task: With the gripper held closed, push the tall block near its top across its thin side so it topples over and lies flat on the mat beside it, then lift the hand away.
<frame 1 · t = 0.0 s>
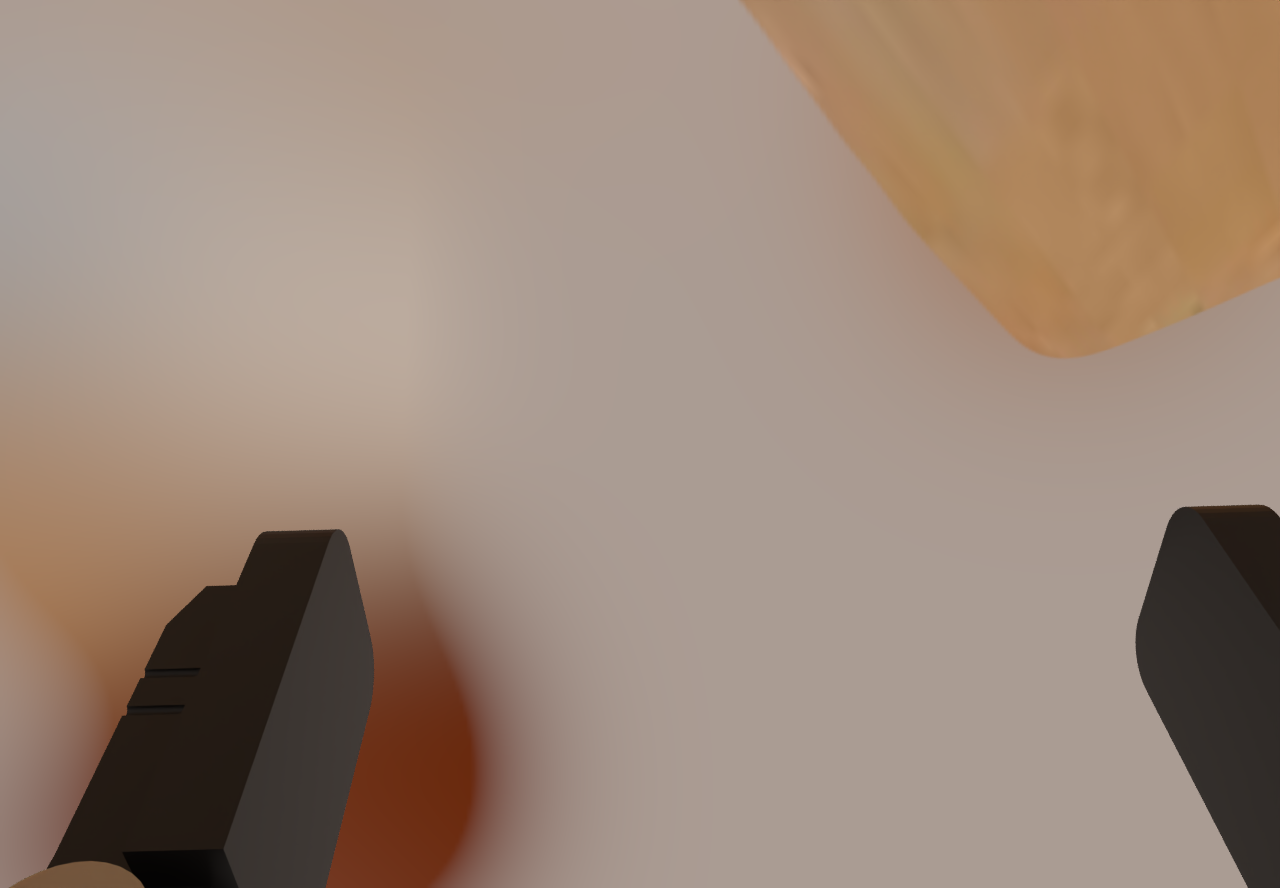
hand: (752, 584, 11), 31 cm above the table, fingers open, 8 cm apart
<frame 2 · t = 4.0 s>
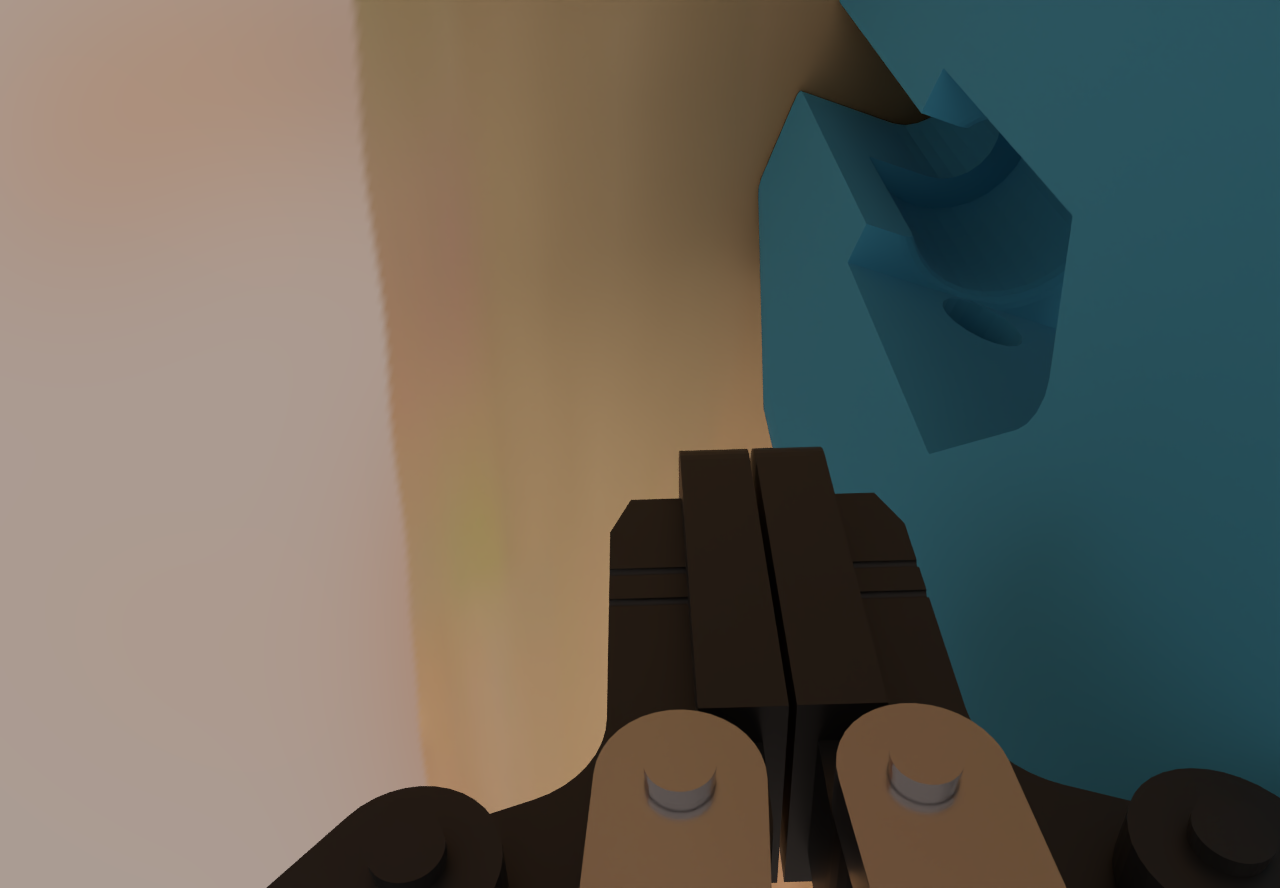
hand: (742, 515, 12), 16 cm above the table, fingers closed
block: (917, 78, 25), on the table, touching gripper
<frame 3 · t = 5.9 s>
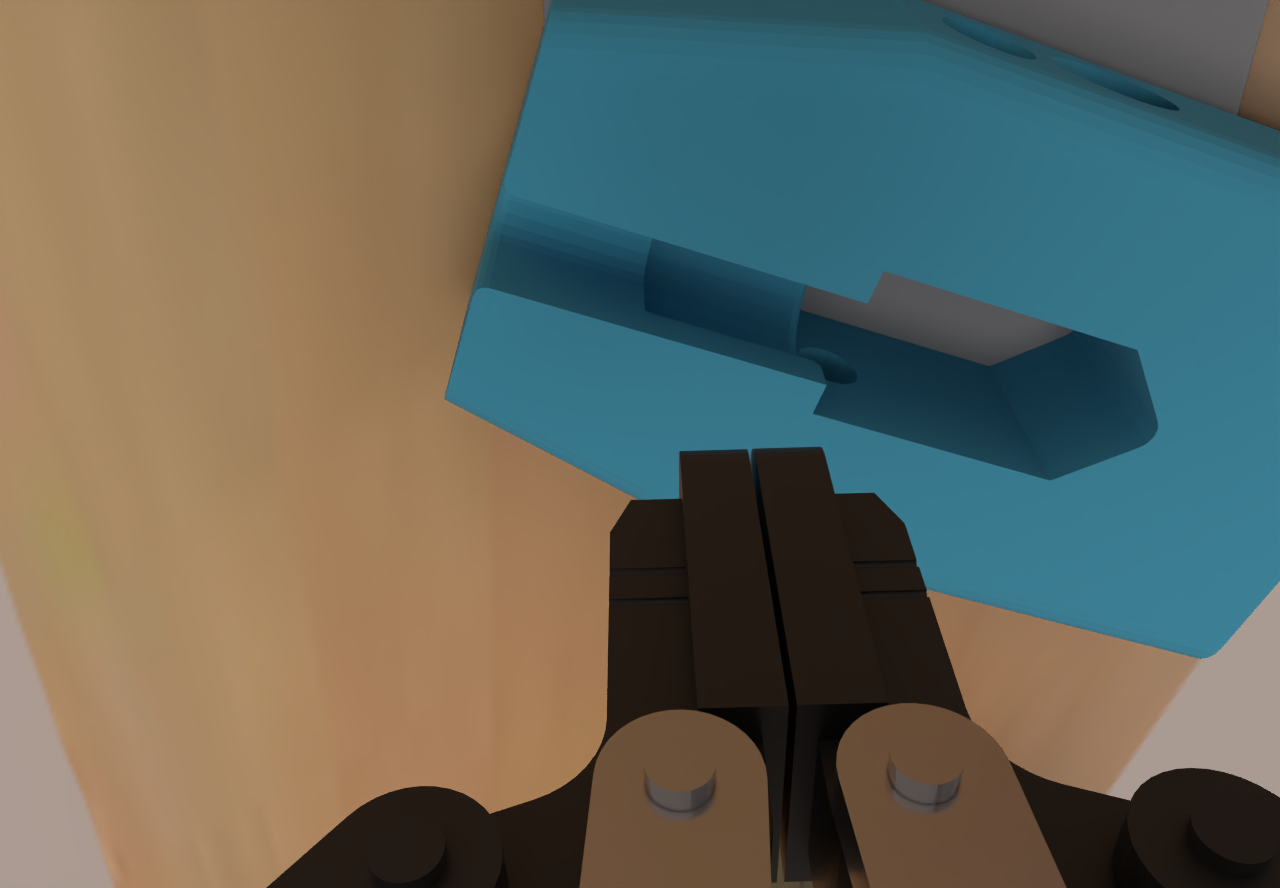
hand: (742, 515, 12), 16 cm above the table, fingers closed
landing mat: (894, 75, 25), on the table
olive green pouch: (842, 822, 41), on the table
block: (491, 187, 23), point 3 cm above the table, touching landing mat
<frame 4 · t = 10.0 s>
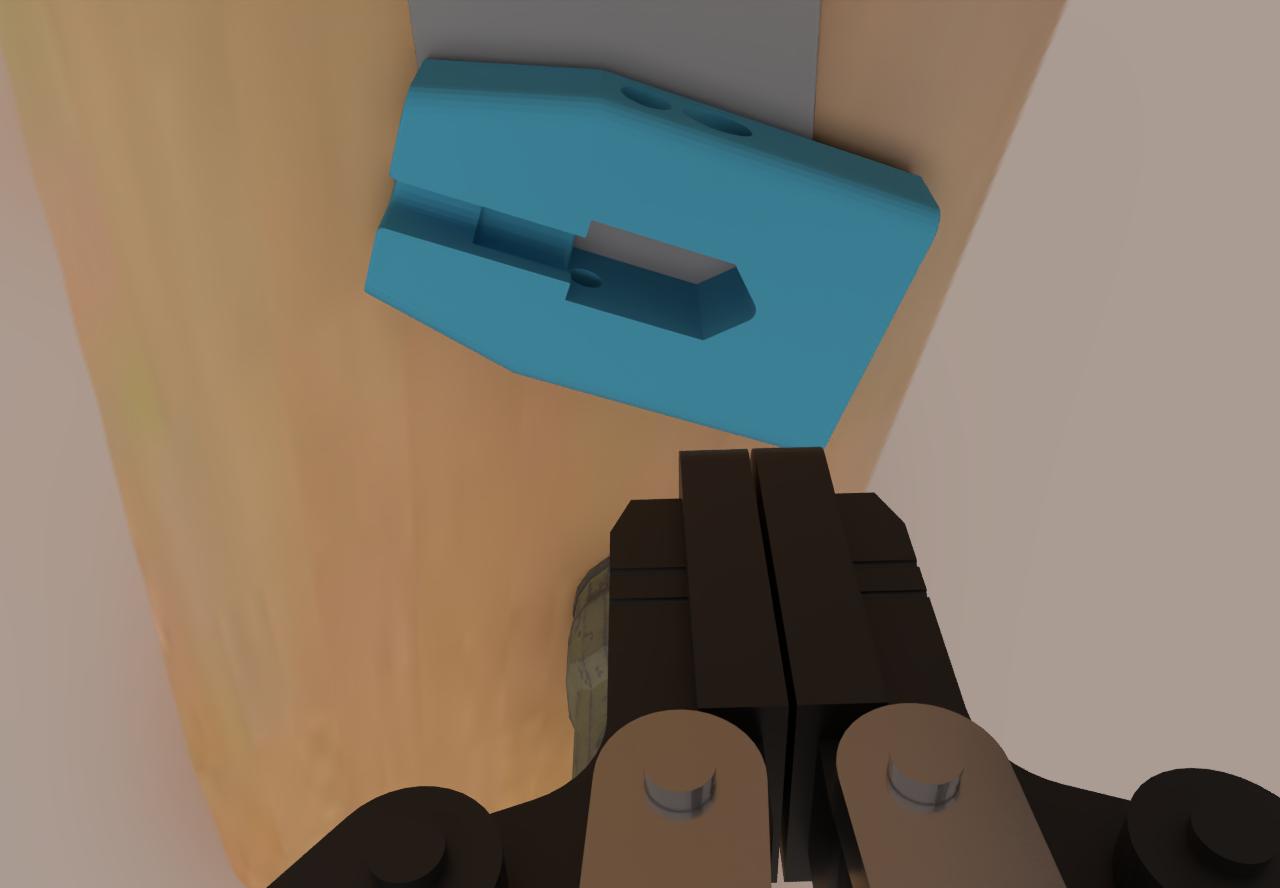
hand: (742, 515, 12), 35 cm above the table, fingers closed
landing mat: (619, 114, 45), on the table
olive green pouch: (653, 606, 60), on the table
block: (389, 175, 43), point 3 cm above the table, touching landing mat
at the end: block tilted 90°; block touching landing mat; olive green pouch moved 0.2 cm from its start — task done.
